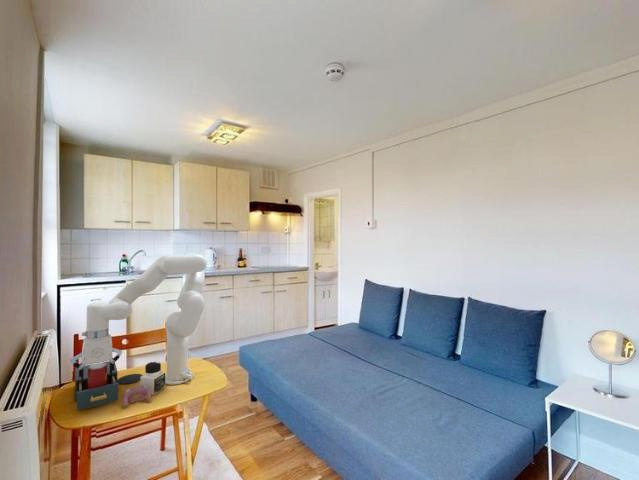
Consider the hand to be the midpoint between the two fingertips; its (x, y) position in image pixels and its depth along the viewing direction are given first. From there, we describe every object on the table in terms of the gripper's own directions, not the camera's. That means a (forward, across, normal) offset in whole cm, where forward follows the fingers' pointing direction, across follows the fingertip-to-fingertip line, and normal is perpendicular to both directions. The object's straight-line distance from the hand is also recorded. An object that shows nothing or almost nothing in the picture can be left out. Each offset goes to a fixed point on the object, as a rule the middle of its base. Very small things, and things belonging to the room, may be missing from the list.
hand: (96, 375), depth 130 cm
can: (+9, 0, 0) cm, 9 cm away
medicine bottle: (+11, +20, -3) cm, 23 cm away
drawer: (+10, 0, -1) cm, 10 cm away
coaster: (+11, +14, +14) cm, 23 cm away
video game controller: (+11, +13, -10) cm, 20 cm away
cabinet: (+11, 0, +12) cm, 16 cm away
